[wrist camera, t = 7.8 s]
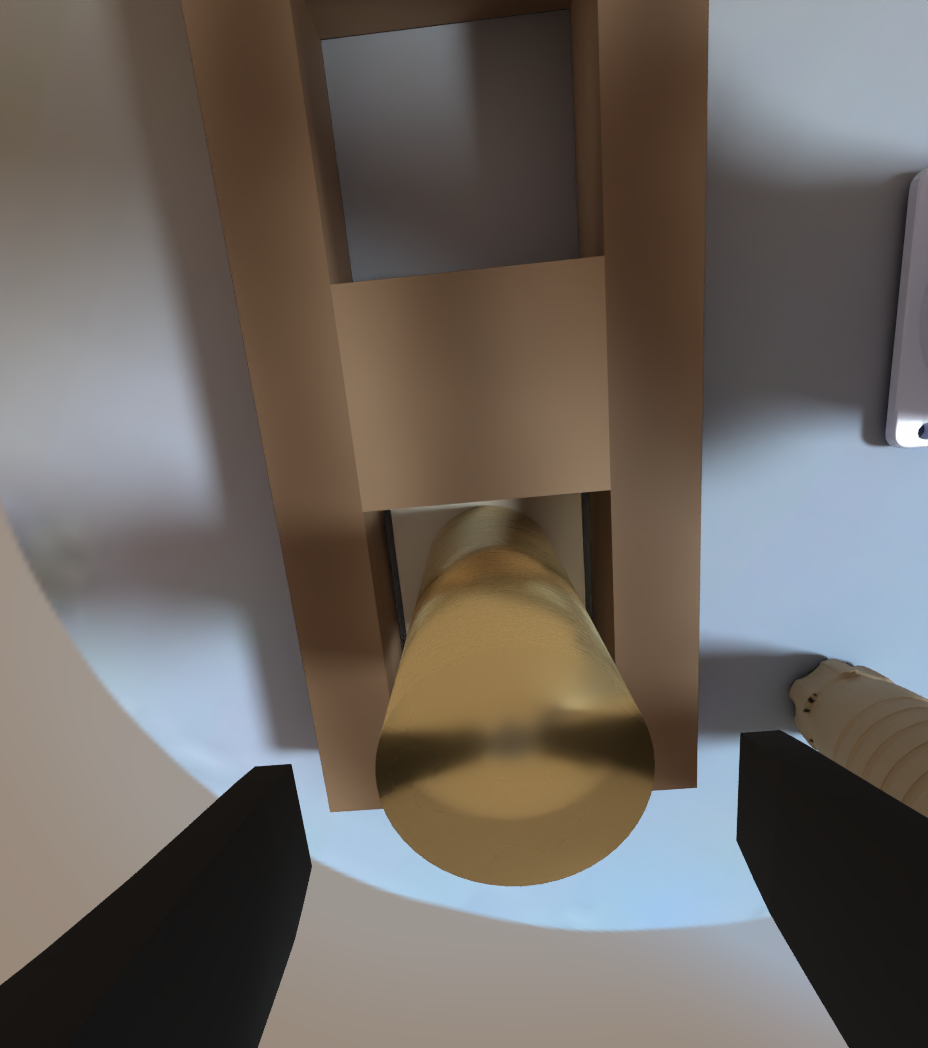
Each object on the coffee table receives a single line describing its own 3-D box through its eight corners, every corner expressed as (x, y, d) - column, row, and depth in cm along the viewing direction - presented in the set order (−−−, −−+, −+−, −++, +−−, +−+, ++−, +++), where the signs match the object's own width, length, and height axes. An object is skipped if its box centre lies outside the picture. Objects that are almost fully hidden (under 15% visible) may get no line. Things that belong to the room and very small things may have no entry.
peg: (551, 499, 17) (653, 635, 8) (558, 620, 18) (657, 876, 9) (420, 512, 17) (354, 661, 8) (435, 632, 18) (395, 894, 9)
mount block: (661, -142, 13) (713, -291, 11) (663, 729, 20) (696, 787, 17) (211, -83, 14) (142, -209, 11) (351, 751, 20) (330, 812, 17)
